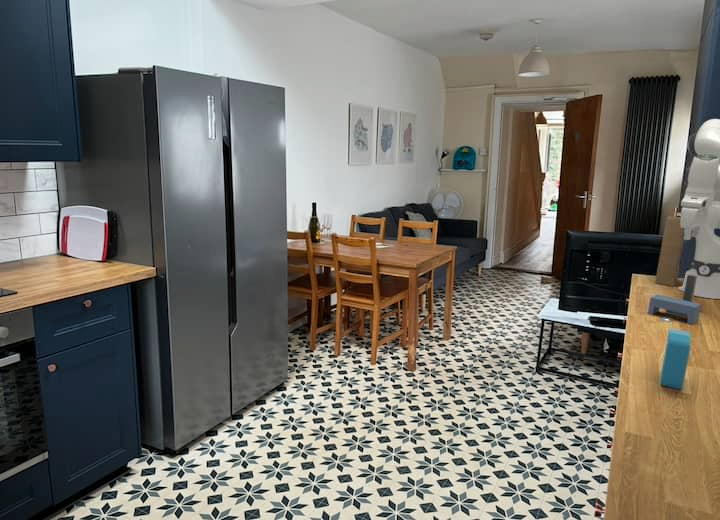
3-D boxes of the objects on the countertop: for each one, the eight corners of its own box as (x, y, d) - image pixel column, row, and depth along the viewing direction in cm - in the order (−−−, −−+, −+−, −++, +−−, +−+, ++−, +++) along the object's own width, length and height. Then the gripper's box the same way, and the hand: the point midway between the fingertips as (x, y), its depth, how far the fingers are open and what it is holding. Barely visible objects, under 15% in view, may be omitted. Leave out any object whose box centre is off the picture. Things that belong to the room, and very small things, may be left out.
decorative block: (677, 281, 241) (689, 216, 235) (674, 286, 229) (686, 219, 223) (659, 277, 246) (670, 214, 239) (654, 283, 234) (666, 217, 227)
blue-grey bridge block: (654, 310, 191) (657, 294, 190) (698, 320, 181) (701, 304, 180) (647, 313, 187) (650, 297, 185) (692, 324, 177) (695, 307, 175)
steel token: (661, 318, 182) (662, 316, 182) (674, 321, 180) (675, 319, 179) (658, 320, 180) (658, 318, 179) (671, 324, 177) (671, 321, 177)
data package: (661, 370, 136) (669, 326, 134) (681, 374, 134) (690, 330, 131) (660, 387, 126) (669, 340, 123) (682, 392, 124) (691, 344, 121)
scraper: (676, 306, 198) (682, 273, 195) (697, 311, 193) (704, 277, 190) (665, 312, 189) (672, 277, 186) (687, 317, 184) (694, 282, 181)
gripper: (696, 198, 197) (689, 233, 201) (679, 201, 183) (672, 239, 187) (715, 199, 193) (708, 236, 196) (700, 203, 179) (692, 242, 182)
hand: (690, 238), depth 191 cm, fingers open, 8 cm apart
